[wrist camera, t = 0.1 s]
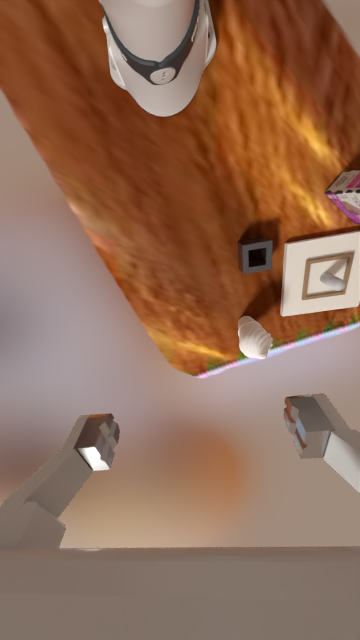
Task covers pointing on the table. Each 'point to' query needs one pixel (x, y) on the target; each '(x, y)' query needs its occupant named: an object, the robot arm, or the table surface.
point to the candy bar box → (347, 194)
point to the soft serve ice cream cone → (253, 338)
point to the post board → (321, 274)
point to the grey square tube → (265, 255)
